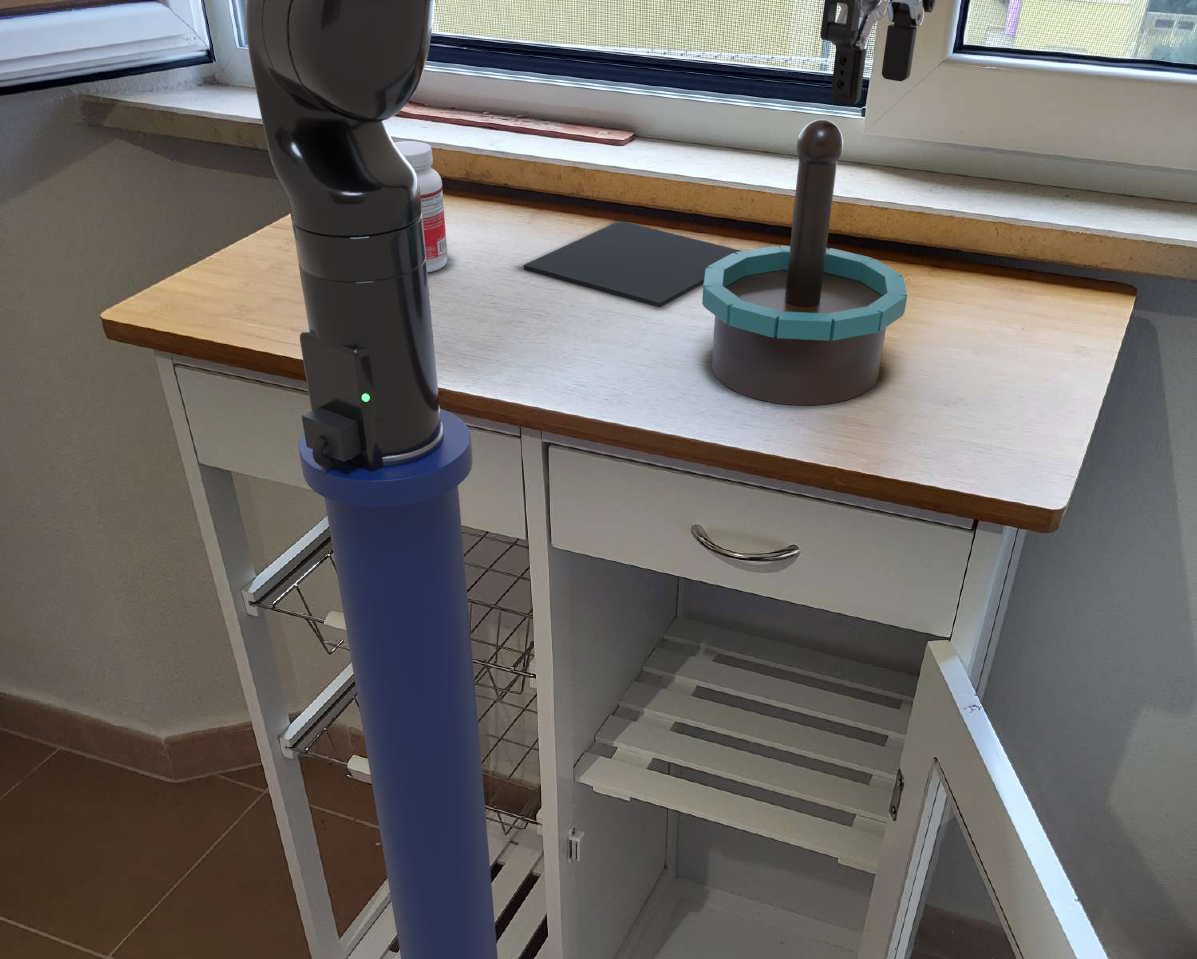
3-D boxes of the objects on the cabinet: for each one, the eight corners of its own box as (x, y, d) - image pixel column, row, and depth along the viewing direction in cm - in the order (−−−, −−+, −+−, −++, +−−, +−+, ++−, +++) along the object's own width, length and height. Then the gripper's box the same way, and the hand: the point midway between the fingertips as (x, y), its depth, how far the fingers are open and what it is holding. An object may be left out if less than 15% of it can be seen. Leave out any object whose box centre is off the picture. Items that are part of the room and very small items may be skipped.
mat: (659, 307, 119) (660, 303, 119) (523, 268, 126) (523, 264, 126) (751, 257, 129) (751, 253, 129) (620, 224, 136) (620, 220, 136)
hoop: (843, 357, 96) (845, 337, 95) (664, 307, 103) (665, 288, 102) (936, 292, 106) (939, 273, 105) (767, 251, 113) (769, 233, 112)
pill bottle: (380, 259, 128) (366, 143, 121) (435, 250, 130) (425, 135, 123) (400, 279, 124) (388, 160, 117) (457, 269, 126) (448, 151, 119)
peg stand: (827, 421, 101) (863, 159, 88) (679, 375, 107) (691, 125, 94) (906, 361, 110) (950, 115, 96) (765, 322, 116) (788, 86, 103)
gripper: (901, -180, 92) (869, 66, 103) (807, -163, 84) (783, 103, 95) (996, -174, 89) (952, 79, 100) (907, -155, 81) (871, 119, 92)
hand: (870, 90), depth 97 cm, fingers open, 8 cm apart
